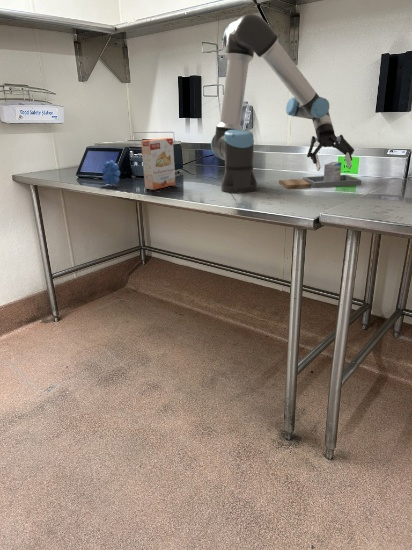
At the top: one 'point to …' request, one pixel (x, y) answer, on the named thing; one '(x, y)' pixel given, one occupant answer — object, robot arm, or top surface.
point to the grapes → (111, 172)
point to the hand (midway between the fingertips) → (334, 168)
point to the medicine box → (332, 171)
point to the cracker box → (158, 163)
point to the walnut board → (294, 183)
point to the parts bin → (349, 182)
